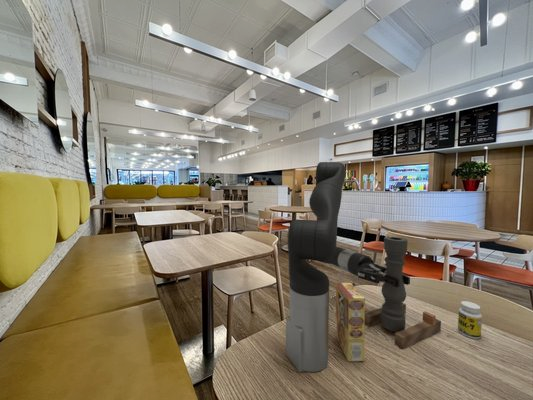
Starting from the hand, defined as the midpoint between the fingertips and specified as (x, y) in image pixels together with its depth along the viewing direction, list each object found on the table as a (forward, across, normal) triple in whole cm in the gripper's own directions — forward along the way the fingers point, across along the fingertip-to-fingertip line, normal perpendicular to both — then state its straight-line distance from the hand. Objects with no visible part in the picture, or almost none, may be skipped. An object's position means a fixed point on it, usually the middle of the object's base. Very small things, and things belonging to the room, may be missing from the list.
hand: (404, 282), depth 60 cm
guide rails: (-3, +4, +15) cm, 16 cm away
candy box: (-3, -17, +15) cm, 23 cm away
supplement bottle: (+7, +18, +15) cm, 25 cm away
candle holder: (-3, 0, +14) cm, 14 cm away
